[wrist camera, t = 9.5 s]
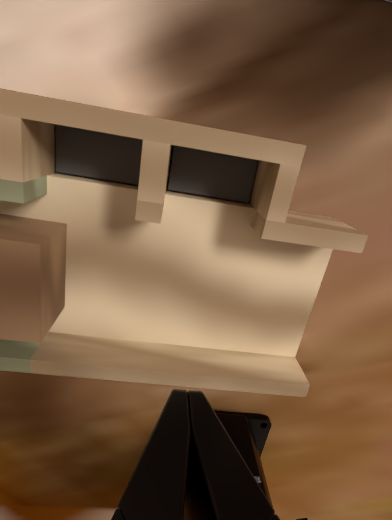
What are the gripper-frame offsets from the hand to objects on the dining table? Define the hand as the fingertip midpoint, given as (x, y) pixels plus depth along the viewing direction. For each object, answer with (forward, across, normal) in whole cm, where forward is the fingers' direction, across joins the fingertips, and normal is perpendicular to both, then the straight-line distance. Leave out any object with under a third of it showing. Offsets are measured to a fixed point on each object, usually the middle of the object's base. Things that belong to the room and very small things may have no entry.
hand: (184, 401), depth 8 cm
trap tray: (+9, +2, -1) cm, 9 cm away
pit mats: (+9, +2, -5) cm, 10 cm away
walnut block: (+8, +8, 0) cm, 11 cm away
